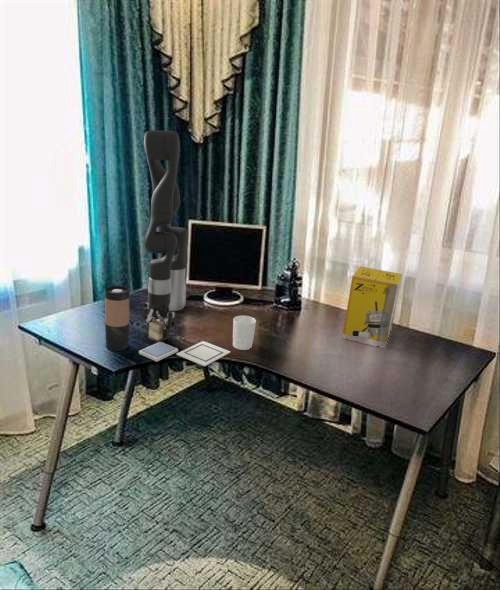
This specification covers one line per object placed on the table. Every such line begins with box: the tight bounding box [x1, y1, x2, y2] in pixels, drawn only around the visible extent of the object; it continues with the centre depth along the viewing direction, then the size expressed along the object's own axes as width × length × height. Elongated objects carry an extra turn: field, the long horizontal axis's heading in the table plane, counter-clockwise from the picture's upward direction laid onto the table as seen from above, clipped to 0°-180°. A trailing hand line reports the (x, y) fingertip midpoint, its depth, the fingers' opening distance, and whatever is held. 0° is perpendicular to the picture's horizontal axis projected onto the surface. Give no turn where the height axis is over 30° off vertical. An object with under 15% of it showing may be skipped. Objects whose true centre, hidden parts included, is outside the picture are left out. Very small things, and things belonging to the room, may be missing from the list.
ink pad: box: [138, 341, 179, 363], centre depth 161 cm, size 10×8×1 cm
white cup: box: [232, 315, 257, 351], centre depth 170 cm, size 8×8×10 cm
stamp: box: [147, 319, 169, 343], centre depth 170 cm, size 5×5×6 cm
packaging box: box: [342, 266, 404, 344], centre depth 186 cm, size 16×16×25 cm
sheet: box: [175, 340, 231, 367], centre depth 163 cm, size 14×12×1 cm
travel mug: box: [104, 285, 130, 352], centre depth 159 cm, size 8×8×20 cm
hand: (158, 334), depth 171 cm, fingers open, 6 cm apart
